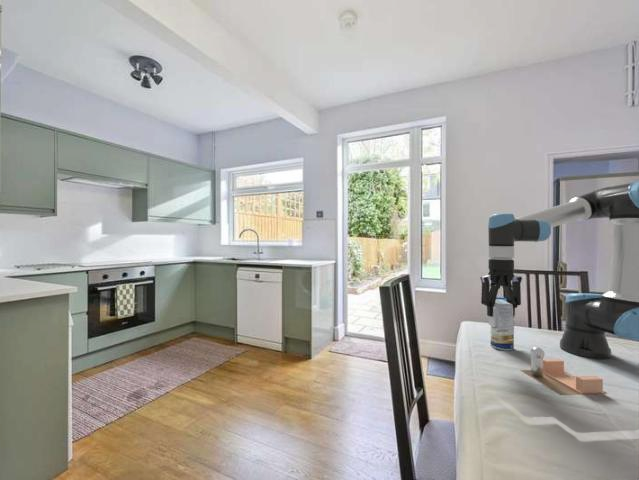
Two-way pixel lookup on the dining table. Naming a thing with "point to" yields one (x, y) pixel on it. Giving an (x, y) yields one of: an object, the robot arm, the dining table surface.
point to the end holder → (572, 378)
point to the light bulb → (537, 362)
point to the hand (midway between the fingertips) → (500, 325)
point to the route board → (553, 384)
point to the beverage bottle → (502, 336)
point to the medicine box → (504, 315)
